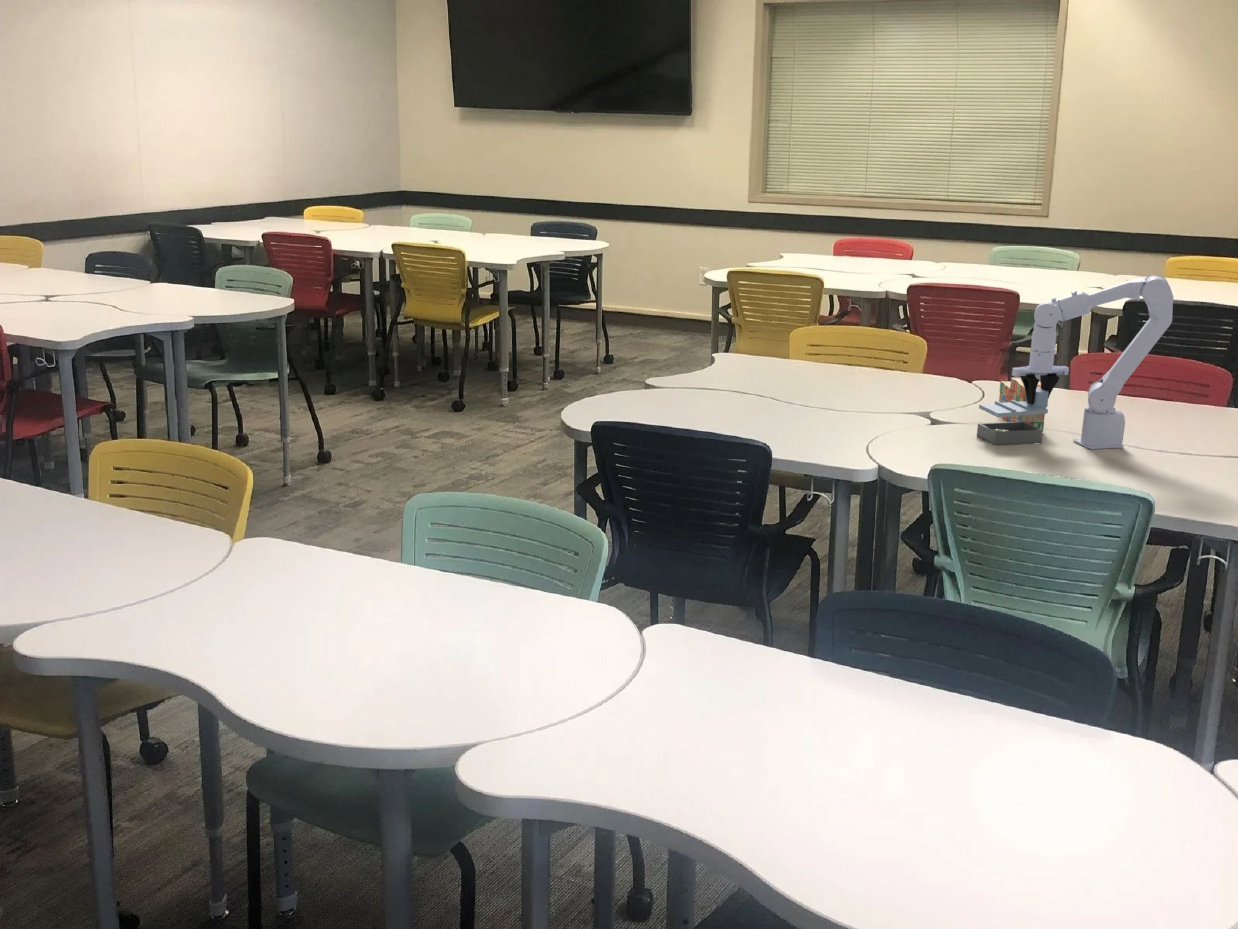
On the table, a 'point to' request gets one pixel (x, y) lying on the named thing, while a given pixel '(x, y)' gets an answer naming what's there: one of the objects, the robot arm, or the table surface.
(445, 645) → the table surface
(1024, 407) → the lid
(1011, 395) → the stack of blocks
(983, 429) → the tub
